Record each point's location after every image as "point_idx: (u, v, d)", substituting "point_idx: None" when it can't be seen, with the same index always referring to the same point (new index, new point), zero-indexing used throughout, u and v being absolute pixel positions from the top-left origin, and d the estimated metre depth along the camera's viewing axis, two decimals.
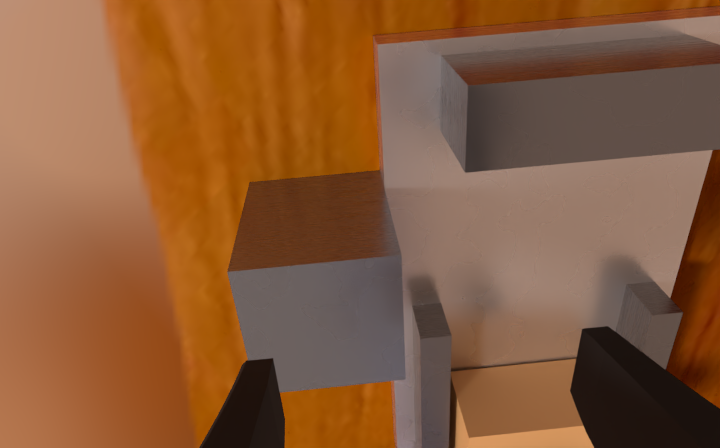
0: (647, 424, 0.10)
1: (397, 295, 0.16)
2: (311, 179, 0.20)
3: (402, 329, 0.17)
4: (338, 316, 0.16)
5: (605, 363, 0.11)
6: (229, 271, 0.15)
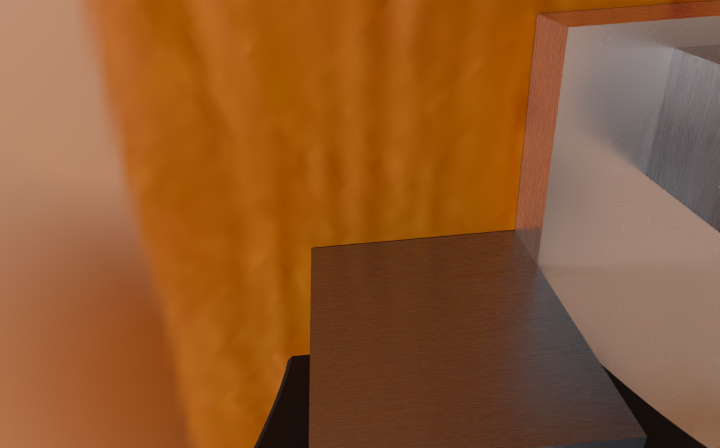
0: None
1: None
2: (410, 246, 0.13)
3: None
4: None
5: None
6: None
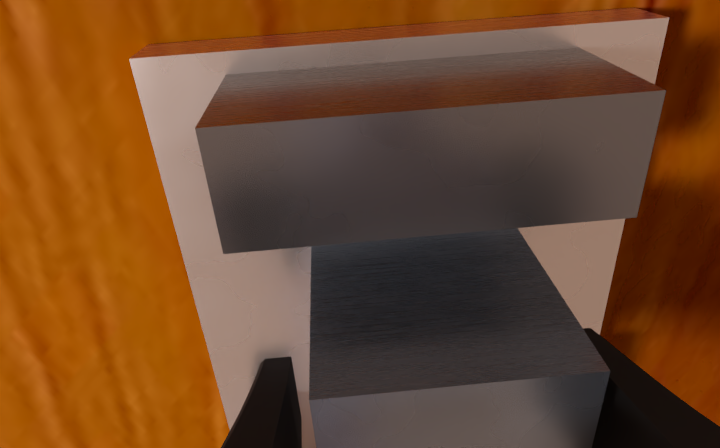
0: (626, 426, 0.10)
1: (587, 430, 0.10)
2: None
3: None
4: None
5: None
6: (312, 398, 0.09)
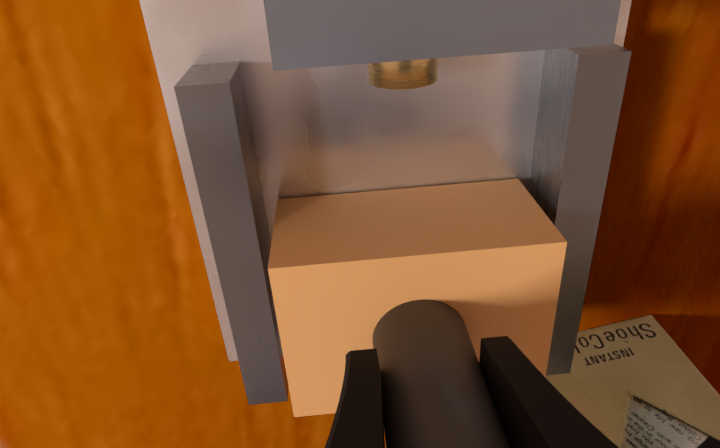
0: (524, 436, 0.10)
1: None
2: None
3: None
4: None
5: (495, 374, 0.11)
6: None
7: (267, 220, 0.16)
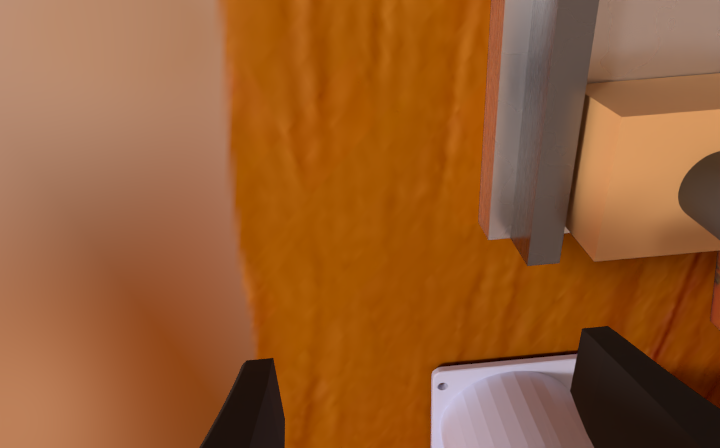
0: (647, 424, 0.10)
1: None
2: None
3: None
4: None
5: (605, 363, 0.11)
6: None
7: None
